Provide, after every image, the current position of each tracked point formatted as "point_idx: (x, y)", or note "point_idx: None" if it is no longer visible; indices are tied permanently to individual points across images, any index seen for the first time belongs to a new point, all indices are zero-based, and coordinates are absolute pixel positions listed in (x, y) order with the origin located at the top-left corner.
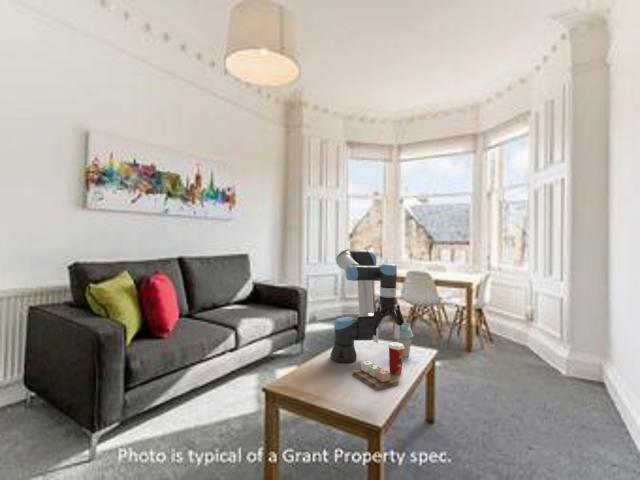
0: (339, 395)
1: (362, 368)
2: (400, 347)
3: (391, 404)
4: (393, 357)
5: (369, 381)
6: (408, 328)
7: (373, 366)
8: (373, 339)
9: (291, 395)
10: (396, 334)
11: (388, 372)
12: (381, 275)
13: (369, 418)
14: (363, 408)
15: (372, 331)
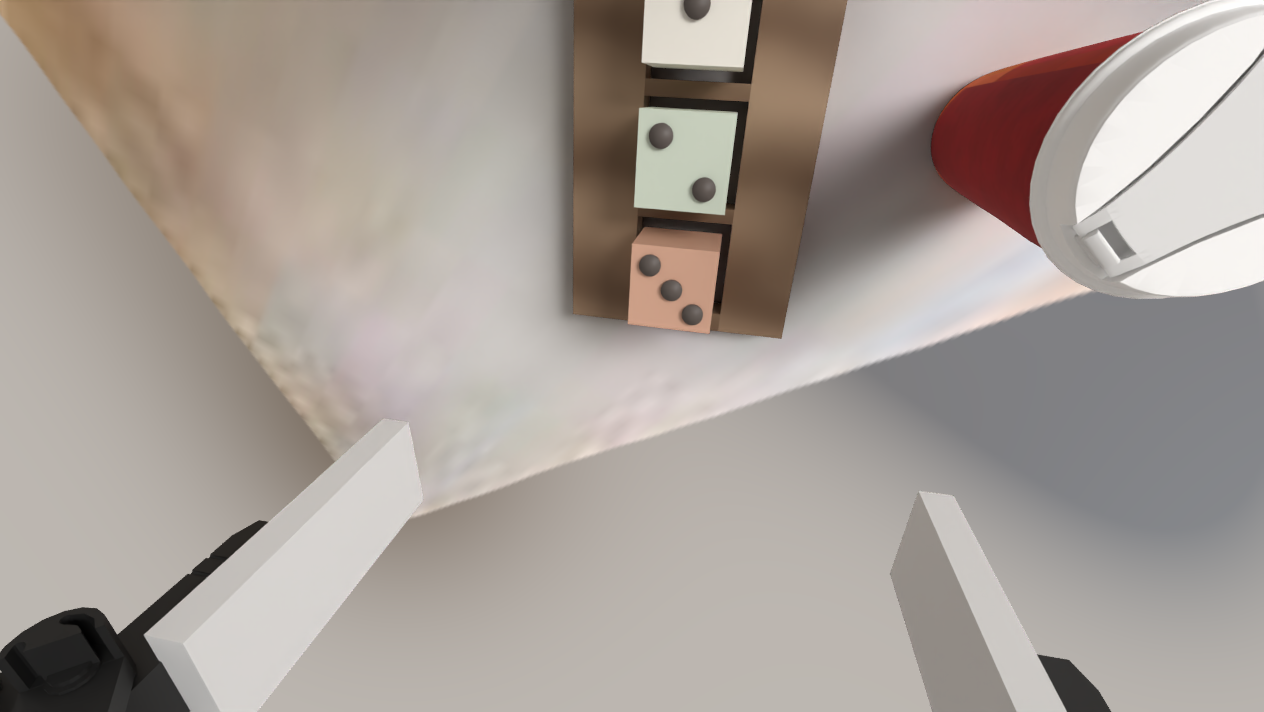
0: (320, 223)
1: None
2: (1136, 290)
3: (540, 456)
4: (988, 188)
5: (574, 219)
6: None
7: (675, 145)
8: (365, 444)
9: (29, 50)
10: (923, 596)
11: (694, 331)
12: None
13: None
14: (387, 405)
15: (184, 580)
